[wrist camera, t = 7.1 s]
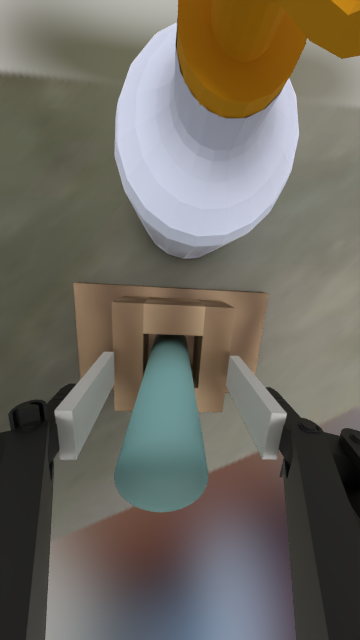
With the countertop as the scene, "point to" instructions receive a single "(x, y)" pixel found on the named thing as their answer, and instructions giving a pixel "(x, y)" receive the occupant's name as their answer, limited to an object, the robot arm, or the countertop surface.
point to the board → (102, 319)
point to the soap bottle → (219, 115)
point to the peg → (164, 434)
